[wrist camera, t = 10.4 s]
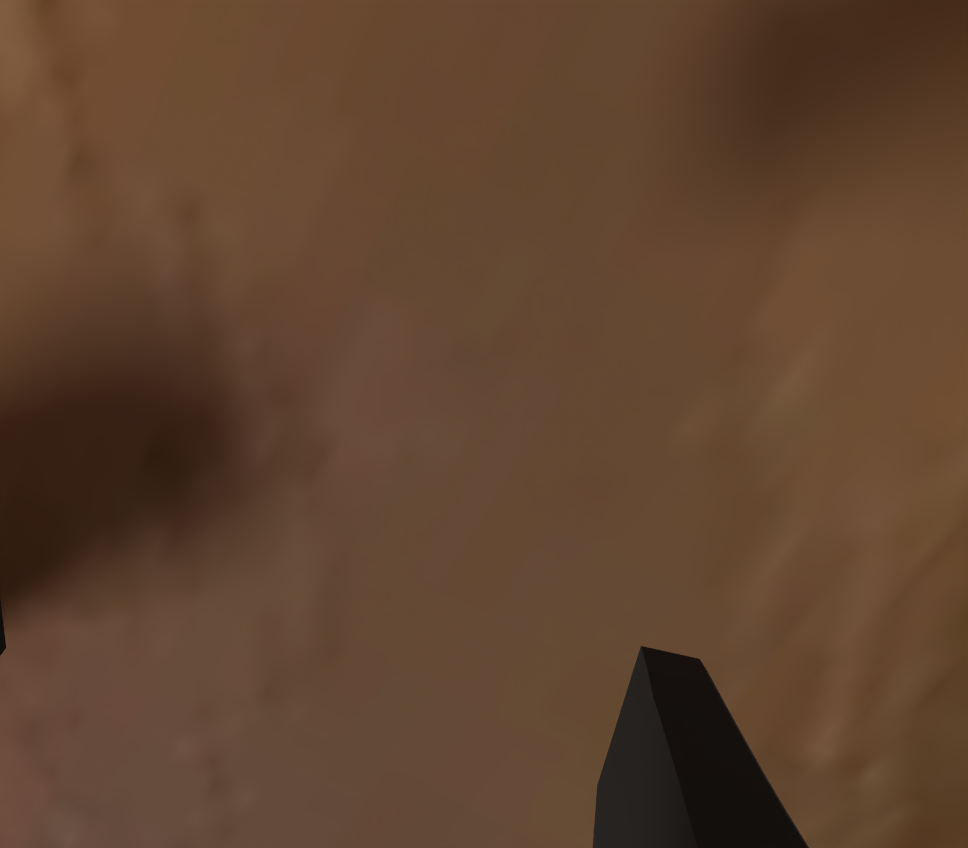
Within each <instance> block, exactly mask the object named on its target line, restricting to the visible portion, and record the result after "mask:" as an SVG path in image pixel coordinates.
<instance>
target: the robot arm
mask: <svg viewBox="0 0 968 848" xmlns="http://www.w3.org/2000/svg"><path fill="white" fill-rule="evenodd" d="M5 648H6V643H5V634H4V626H3V617H2V609H1V601H0V655H1V654H2V653H3V651H4V650H5ZM593 848H809V847H808V846H807V844H806V843H805V841H804V839H803V838H802V836H801V834H800V833H799V831H798V830H797V828H796V826H795V825H794V823H793V821H792V820H791V818H790V816H789V815H788V813H787V812H786V810H785V808H784V807H783V805H782V803H781V802H780V800H779V798H778V797H777V795H776V793H775V791H774V790H773V788H772V786H771V785H770V783H769V781H768V780H767V778H766V776H765V774H764V773H763V771H762V769H761V767H760V766H759V764H758V762H757V760H756V759H755V757H754V755H753V753H752V751H751V750H750V748H749V746H748V744H747V743H746V741H745V739H744V737H743V736H742V734H741V732H740V730H739V728H738V727H737V725H736V723H735V721H734V719H733V717H732V716H731V714H730V712H729V710H728V708H727V707H726V705H725V703H724V701H723V699H722V697H721V696H720V694H719V692H718V690H717V688H716V686H715V685H714V683H713V681H712V679H711V677H710V675H709V674H708V672H707V670H706V669H705V667H704V665H703V664H702V662H701V661H700V659H697V658H693V657H688V656H684V655H679V654H675V653H670V652H666V651H661V650H656V649H652V648H647V647H643V646H641V648H640V651H639V654H638V657H637V660H636V664H635V667H634V670H633V673H632V676H631V680H630V683H629V686H628V689H627V692H626V696H625V699H624V702H623V705H622V708H621V712H620V715H619V718H618V721H617V724H616V728H615V731H614V734H613V737H612V740H611V744H610V747H609V750H608V753H607V756H606V760H605V763H604V766H603V769H602V772H601V776H600V779H599V782H598V785H597V798H596V812H595V825H594V839H593Z"/></svg>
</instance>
